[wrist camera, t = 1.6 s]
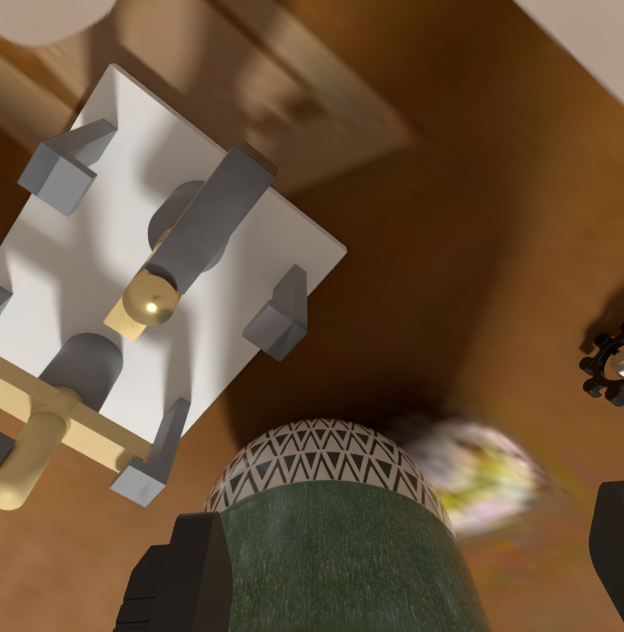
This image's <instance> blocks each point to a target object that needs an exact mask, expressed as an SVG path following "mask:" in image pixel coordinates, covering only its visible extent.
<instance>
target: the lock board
mask: <svg viewBox="0 0 624 632" xmlns="http://www.w3.org/2000/svg"><path fill="white" fill-rule="evenodd" d="M226 154H227V151H225V150H224V149H223V148H222V147H220V146H219V145H218V144H217V143H215V142H214V141H213V140H212V139H210V138H209V137H208V136H207V135H205V134H204V133H203V132H202V131H200V130H199V129H198V128H197V127H195V126H194V125H193V124H192V123H190V122H189V121H188V120H187V119H185V118H184V117H183V116H182V115H180V114H179V113H178V112H177V111H175V110H174V109H173V108H172V107H170V106H169V105H168V104H167V103H165V102H164V101H163V100H162V99H160V98H159V97H158V96H156V95H155V94H154V93H153V92H151V91H150V90H149V89H148V88H146V87H145V86H144V85H143V84H141V83H140V82H139V81H138V80H136V79H135V78H134V77H133V76H131V75H130V74H129V73H128V72H126V71H125V70H124V69H123V68H121V67H120V66H119V65H118V64H116V63H114V64H109V66H108V68H107V69H106V71H105V73H104V74H103V76H102V78H101V79H100V81H99V83H98V84H97V86H96V88H95V89H94V91H93V93H92V94H91V96H90V98H89V99H88V101H87V103H86V104H85V106H84V108H83V109H82V111H81V113H80V114H79V116H78V118H77V119H76V121H75V123H74V124H73V126H72V128H71V129H70V131H68V132H66V133H63V134H60V135H58V136H55V137H52V138H50V139H47V140H44V141H42V142H40V144H39V146H38V148H37V149H36V151H35V153H34V155H33V156H32V158H31V160H30V161H29V163H28V165H27V167H26V168H25V170H24V172H23V173H22V175H21V177H20V179H19V180H18V182H17V183H18V184H19V185H21V186H22V187H24V188H25V189H27V190H28V191H30V192H31V193H32V194H31V196H30V198H29V200H28V201H27V203H26V205H25V206H24V208H23V210H22V211H21V213H20V215H19V216H18V218H17V220H16V221H15V223H14V225H13V226H12V228H11V230H10V231H9V233H8V235H7V236H6V238H5V240H4V241H3V243H2V245H1V246H0V356H1V357H0V409H2V410H4V411H6V412H8V413H9V414H11V415H13V416H15V417H17V418H19V419H20V420H22V421H24V422H26V423H27V424H26V425H25V426H24V428H23V429H22V431H21V432H20V433H19V435H18V436H17V437H16V439H15V440H14V439H12V438H10V437H8V436H7V435H5V434H3V433H1V432H0V509H3V510H13V509H17V508H19V507H20V506H22V504H23V503H24V501H25V500H26V498H27V497H28V495H29V493H30V492H31V490H32V488H33V487H34V485H35V483H36V482H37V480H38V478H39V477H40V475H41V474H42V472H43V470H44V469H45V467H46V465H47V464H48V462H49V460H50V459H51V457H52V455H53V454H54V452H55V450H56V449H57V447H58V446H59V444H60V442H63V443H64V444H66V445H68V446H70V447H72V448H74V449H75V450H77V451H79V452H81V453H83V454H85V455H86V456H88V457H90V458H92V459H94V460H96V461H97V462H99V463H101V464H103V465H105V466H107V467H109V468H110V469H112V470H114V471H116V472H118V475H117V476H116V477H115V478H114V479H113V482H112V484H111V486H110V489H112V490H114V491H116V492H117V493H119V494H121V495H123V496H125V497H127V498H129V499H131V500H132V501H134V502H136V503H138V504H140V505H142V506H144V507H146V506H147V505H148V504H149V503H150V502H151V501H152V500H153V499H154V497H155V496H156V495H157V494H158V493H159V492H160V491H161V490H162V489H163V488H164V487H165V486H166V483H167V480H168V476H169V473H170V470H171V467H172V464H173V460H174V457H175V454H176V451H177V448H178V444H179V441H180V438H181V437H182V436H183V435H184V434H185V432H186V431H187V430H188V429H189V428H190V427H191V426H192V425H193V423H194V422H195V421H196V420H197V419H198V418H199V417H200V416H201V415H202V413H203V412H204V411H205V410H206V409H207V408H208V407H209V406H210V405H211V403H212V402H213V401H214V400H215V399H216V398H217V397H218V396H219V395H220V393H221V392H222V391H223V390H224V389H225V388H226V387H227V386H228V385H229V383H230V382H231V381H232V380H233V379H234V378H235V377H236V376H237V375H238V373H239V372H240V371H241V370H242V369H243V368H244V367H245V366H246V365H247V363H248V362H249V361H250V360H251V359H252V358H253V357H254V356H255V354H256V353H257V352H258V351H259V350H260V349H261V350H263V351H264V352H266V353H267V354H269V355H270V356H271V357H273V358H274V359H276V360H277V361H279V362H281V361H282V360H283V359H284V357H285V356H286V355H287V354H288V353H289V352H290V351H291V350H292V349H293V348H294V347H295V346H296V344H297V343H298V342H299V341H300V340H301V339H302V338H303V337H304V336H305V335H306V334H307V297H308V296H309V294H310V293H311V292H312V291H313V290H314V289H315V288H316V287H317V285H318V284H319V283H320V282H321V281H322V280H323V279H324V278H325V277H326V275H327V274H328V273H329V272H330V271H331V270H332V269H333V268H334V267H335V265H336V264H337V263H338V262H339V261H340V260H341V259H342V258H343V257H344V255H345V254H346V253H347V250H346V246H344V245H343V244H342V243H341V242H339V241H338V240H337V239H336V238H334V237H333V236H332V235H331V234H329V233H328V232H327V231H326V230H324V229H323V228H322V227H321V226H319V225H318V224H317V223H316V222H314V221H313V220H312V219H311V218H309V217H308V216H307V215H305V214H304V213H303V212H302V211H300V210H299V209H298V208H297V207H295V206H294V205H293V204H292V203H290V202H289V201H288V200H287V199H285V198H284V197H283V196H282V195H280V194H279V193H278V192H277V191H275V190H274V189H273V188H272V187H270V186H269V187H268V189H267V190H266V191H265V192H264V194H263V195H262V196H261V198H260V199H259V200H258V201H257V203H256V204H255V205H254V206H253V208H252V209H251V210H250V212H249V213H248V214H247V215H246V217H245V218H244V219H243V220H242V222H241V223H240V224H239V225H238V227H237V228H236V229H235V231H234V232H233V233H232V234H231V236H230V237H229V238H228V239H227V241H226V242H225V243H224V245H223V246H222V247H221V248H220V250H219V251H218V252H217V253H216V255H215V256H214V257H213V259H212V260H211V261H210V262H209V264H208V265H207V266H206V267H205V269H204V270H203V271H202V272H201V274H200V275H199V276H198V278H197V279H196V280H195V281H194V283H193V284H192V285H191V286H190V288H189V289H188V290H187V292H186V293H185V294H184V295H183V294H182V296H181V298H180V300H179V302H178V304H177V306H176V308H175V310H174V312H173V314H172V316H171V318H170V319H169V320H168V321H166V322H165V323H163V324H161V325H157V326H146V327H145V329H144V330H143V331H142V333H141V334H140V335H139V337H138V338H137V339H136V340H135V342H133V341H131V340H129V339H128V338H126V337H125V336H123V335H122V334H120V333H118V332H117V331H115V330H114V329H112V328H110V327H109V326H107V325H106V324H104V323H103V321H104V320H105V319H106V317H107V316H108V315H109V313H110V312H111V310H112V309H113V308H114V306H115V305H116V304H117V302H118V301H119V299H120V298H121V297H122V295H123V293H124V290H125V289H126V287H127V286H128V285H129V283H130V282H131V280H132V279H133V278H134V276H135V275H136V274H137V272H138V271H139V269H140V268H141V267H142V265H143V264H144V262H145V261H146V260H147V258H148V257H149V256H150V254H151V253H152V251H153V248H154V245H155V244H156V242H157V241H158V240H159V238H160V237H161V236H162V234H163V233H164V232H165V230H166V229H167V228H168V226H170V225H171V224H172V223H174V222H177V220H178V219H179V218H180V216H181V215H182V214H183V212H184V211H185V209H186V208H187V207H188V205H189V204H190V203H191V201H192V200H193V199H194V197H195V196H196V194H197V193H198V192H199V190H200V189H201V188H202V186H203V185H204V184H205V182H206V181H207V179H208V178H209V177H210V175H211V174H212V173H213V171H214V170H215V169H216V167H217V166H218V164H219V163H220V162H221V160H222V159H223V158H224V156H225V155H226ZM5 359H6V360H5ZM12 363H13V364H12ZM17 366H18V367H17ZM19 367H20V368H19ZM24 370H25V371H24ZM26 371H27V372H26ZM31 374H32V375H31ZM33 375H34V376H33ZM99 413H100V414H99ZM106 417H107V418H106ZM111 420H112V421H111ZM113 421H114V422H113ZM118 424H119V425H118ZM120 425H121V426H120ZM125 428H126V429H125ZM127 429H128V430H127ZM132 432H133V433H132ZM134 433H135V434H134ZM139 436H140V437H139ZM146 440H147V441H146ZM151 443H152V444H153V445H152V448H151V450H150V453H149V456H148V458H147V461H146V463H144V462H143V461H144V460H145V457H146V454H147V452H148V449H149V446H150V444H151Z"/></svg>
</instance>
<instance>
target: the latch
mask: <svg viewBox="0 0 624 632" xmlns="http://www.w3.org/2000/svg"><path fill="white" fill-rule="evenodd" d="M277 170H278V167H276V166H275V165H274V164H273V163H272V162H270V161H269V160H268V159H267V158H265V157H264V156H263V155H262V154H261V153H259V152H258V151H257V150H256V149H254V148H253V147H252V146H251V145H249V144H248V143H247V142H246V141H245V140H243V139H242V138H241V137H239V138H238V140H237V141H236V142H235V144H234V145H232V147H231V148H230V149H229V151H228V152H227V154H226V155H225V156H224V158H223V159H222V160H221V162H220V163H219V164H218V166H217V167H216V169H215V170H214V171H213V173H212V174H211V175H210V177H209V178H208V179H207V181H206V182H205V184H204V185H203V186H202V188H201V189H200V190H199V192H198V193H197V194H196V196H195V197H194V199H193V200H192V201H191V203H190V204H189V205H188V207H187V208H186V209H185V211H184V212H183V214H182V215H181V216H180V218H179V219H178V220H177V222H174V223H172V224H171V225H170V226H168V228H167V229H166V230H165V232H164V233H163V234H162V236H161V237H160V238H159V240H158V241H157V242H156V244H155V245H154V248H153V251H152V253H151V254H150V256H149V257H148V258H147V260H146V261H145V262H144V264H143V265H142V267H141V268H140V269H139V271H138V272H137V274H136V275H135V276H134V278H133V279H132V280H131V282H130V283H129V285H128V286H127V287H126V289H125V290H124V293H123V295H122V297H121V298H120V299H119V301H118V302H117V304H116V305H115V306H114V308H113V309H112V310H111V312H110V313H109V315H108V316H107V317H106V319H105V320H104V321H103V323H104V324H106V325H107V326H109V327H110V328H112V329H114V330H115V331H117V332H118V333H120V334H122V335H123V336H125V337H126V338H128V339H129V340H131V341H133V342H135V340H136V339H137V338H138V337H139V335H140V334H141V333H142V331H143V330H144V329H145V327H146V326H157V325H161V324H163V323H165V322H166V321H168V320H169V319H170V318H171V316H172V314H173V312H174V310H175V308H176V306H177V304H178V302H179V300H180V298H181V296H182V294H183V295H184V294H185V293H186V292H187V290H188V289H189V288H190V286H191V285H192V284H193V283H194V281H195V280H196V279H197V278H198V276H199V275H200V274H201V272H202V271H203V270H204V269H205V267H206V266H207V265H208V264H209V262H210V261H211V260H212V259H213V257H214V256H215V255H216V253H217V252H218V251H219V250H220V248H221V247H222V246H223V245H224V243H225V242H226V241H227V239H228V238H229V237H230V236H231V234H232V233H233V232H234V231H235V229H236V228H237V227H238V225H239V224H240V223H241V222H242V220H243V219H244V218H245V217H246V215H247V214H248V213H249V212H250V210H251V209H252V208H253V206H254V205H255V204H256V203H257V201H258V200H259V199H260V198H261V196H262V195H263V194H264V192H265V191H266V190H267V189H268V187H269V186H270V185H271V184H272V182H273V181H274V180H275V179H276V175H277Z"/></svg>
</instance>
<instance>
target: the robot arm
mask: <svg viewBox="0 0 624 632" xmlns="http://www.w3.org/2000/svg"><path fill="white" fill-rule="evenodd" d="M589 550H590V555H591V559H592V562H593V565H594V568H595V570H596V572H597V574H598V576H599V578H600V580H601V582H602V584H603V585H604V587H605V589H606V591H607V593H608V594H609V596H610V598H611V600H612V602H613V603H614V605H615V607H616V609H617V611H618V612H619V614H620V616H621V618H622V620H623V621H624V481H613V482H603V483H602V484H601V485H600V487H599V490H598V495H597V500H596V505H595V510H594V515H593V520H592V525H591V530H590V535H589ZM232 596H233V572H232V564H231V559H230V555H229V551H228V546H227V542H226V538H225V533H224V529H223V525H222V520H221V516H220V514H219V512H218V511H213V512H200V513H187V514H179V515H178V517H177V519H176V522H175V525H174V529H173V533H172V537H171V540H170V544H167V545H154V546H150V548H149V549H148V550H147V552H146V553H145V554H144V556H143V557H142V558H141V560H140V561H139V562H138V564H137V565H136V566H135V568H134V569H133V570H132V573H131V576H130V579H129V582H128V586H127V589H126V592H125V595H124V598H123V605H121V607H120V610H119V613H118V617H117V620H116V627H115V629H113V632H228V629H229V621H230V613H231V605H232Z"/></svg>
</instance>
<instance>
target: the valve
mask: <svg viewBox="0 0 624 632" xmlns="http://www.w3.org/2000/svg"><path fill="white" fill-rule="evenodd" d="M620 330H621V334H620V335H619V336H617V337H615V338H611V337H610V336H609V335H607V334H605V333H602V334H600V335H599V336H597V337H596V338H595V340H594V343H595V345H596V346H597V347H599V348H600V350H599V352H598V353H597V355H596V356H595V357H593V358H591V357H585V358H583V359H582V360H581V361H580V364H579V367H580V369H582V370H583V371H584V372H586V373H587V374H588V375H591V376H592V375H593V377H592V378H590V379H588V380H586V381H585V382H584V384H583V390H584V391H585V392H587V393H588V394H589V395H591V396H592V397H594V398H598V397H600V396H602V394H600V393H599V390H600V389H601V388H604V387H605V388H606V389H607V390H606V392H605V398H606V399H607V400H608V401H610V402H611V403H612V404H614V405H615V406H617V407H620V406H623V405H624V351H620V350H619V349H618V348H619V347H621V346H623V345H624V323H623V324H622V325H621V328H620ZM611 354H612V355H613V356H614V357H613V359H612V361H611V366H612V367H613V368H614V369H615V370H616V371H617V374H618V376H619V377H621V378H622V379H620V380H608V379H606V377H605V374H604V366H605V363H606V361H607V359H608V357H609V356H610V355H611Z"/></svg>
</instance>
